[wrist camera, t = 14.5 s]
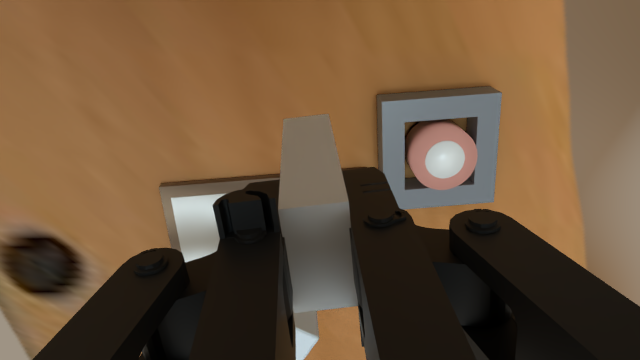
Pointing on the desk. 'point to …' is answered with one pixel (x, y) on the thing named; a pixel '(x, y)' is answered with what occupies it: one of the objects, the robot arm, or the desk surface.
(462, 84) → the desk surface
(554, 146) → the desk surface
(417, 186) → the button base
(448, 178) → the button
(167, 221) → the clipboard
